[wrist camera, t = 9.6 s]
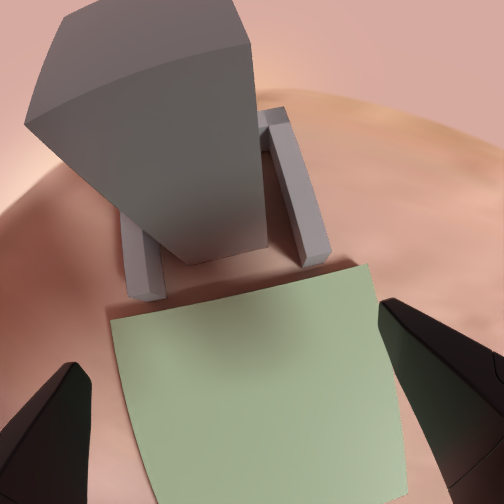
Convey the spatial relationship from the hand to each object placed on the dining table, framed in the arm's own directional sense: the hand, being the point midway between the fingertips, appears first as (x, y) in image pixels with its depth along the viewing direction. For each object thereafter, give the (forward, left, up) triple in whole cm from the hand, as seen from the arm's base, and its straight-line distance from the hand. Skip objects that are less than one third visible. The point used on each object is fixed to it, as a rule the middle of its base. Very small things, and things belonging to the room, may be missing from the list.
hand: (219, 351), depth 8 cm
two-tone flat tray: (0, 0, -8) cm, 8 cm away
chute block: (+5, +5, -8) cm, 11 cm away
